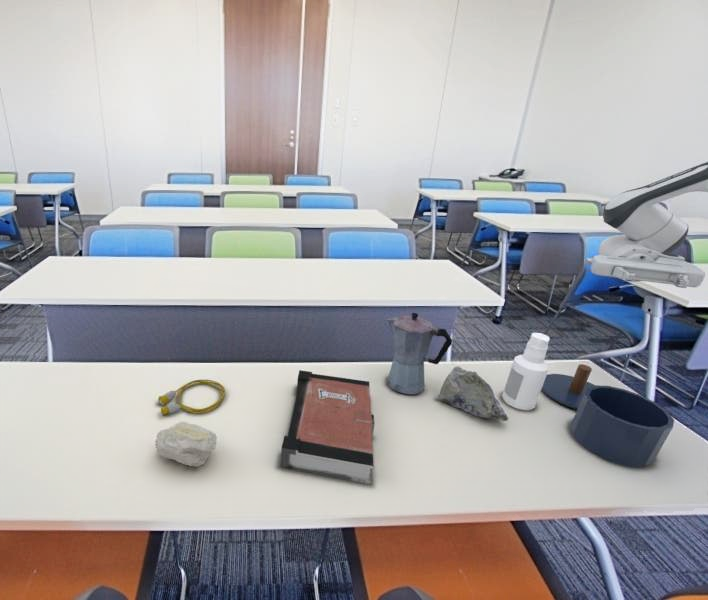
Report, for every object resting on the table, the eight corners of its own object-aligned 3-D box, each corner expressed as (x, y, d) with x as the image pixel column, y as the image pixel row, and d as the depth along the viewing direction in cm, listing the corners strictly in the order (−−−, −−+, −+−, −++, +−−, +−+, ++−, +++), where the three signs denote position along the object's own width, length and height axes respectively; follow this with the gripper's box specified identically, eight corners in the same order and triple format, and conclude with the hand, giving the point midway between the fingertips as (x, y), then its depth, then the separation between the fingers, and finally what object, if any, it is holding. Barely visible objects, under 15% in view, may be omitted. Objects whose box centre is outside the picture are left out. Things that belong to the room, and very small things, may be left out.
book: (374, 485, 73) (378, 465, 71) (280, 467, 76) (281, 447, 74) (369, 397, 96) (372, 380, 94) (298, 386, 100) (299, 370, 98)
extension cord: (161, 385, 100) (161, 378, 99) (224, 381, 101) (224, 375, 100) (155, 417, 89) (155, 410, 88) (226, 413, 90) (226, 406, 89)
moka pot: (383, 366, 109) (395, 300, 100) (443, 387, 100) (461, 316, 92) (370, 383, 101) (382, 313, 93) (434, 407, 93) (452, 332, 85)
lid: (601, 386, 102) (613, 359, 98) (621, 422, 89) (635, 392, 86) (534, 372, 107) (543, 345, 104) (543, 404, 95) (554, 375, 92)
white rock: (161, 439, 83) (153, 481, 74) (153, 410, 79) (144, 451, 70) (218, 433, 83) (218, 474, 75) (214, 404, 79) (213, 444, 71)
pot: (638, 431, 87) (656, 396, 83) (665, 477, 76) (688, 438, 72) (563, 413, 92) (578, 379, 88) (578, 453, 81) (595, 416, 77)
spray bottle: (514, 390, 100) (535, 326, 92) (541, 406, 94) (566, 340, 87) (495, 396, 97) (515, 332, 90) (522, 414, 91) (546, 346, 84)
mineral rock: (508, 428, 87) (521, 391, 83) (463, 432, 86) (474, 394, 82) (472, 392, 99) (482, 357, 95) (432, 394, 98) (440, 360, 93)
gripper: (588, 246, 104) (604, 261, 92) (691, 257, 96) (723, 274, 85) (579, 269, 106) (594, 286, 95) (679, 281, 99) (709, 301, 87)
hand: (656, 280), depth 90 cm, fingers open, 8 cm apart
